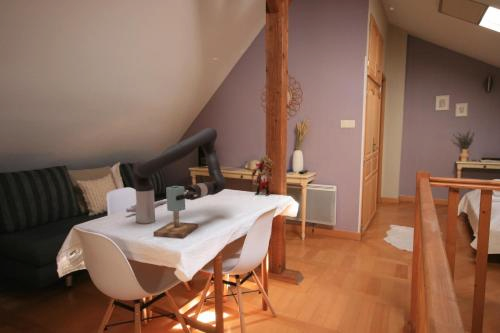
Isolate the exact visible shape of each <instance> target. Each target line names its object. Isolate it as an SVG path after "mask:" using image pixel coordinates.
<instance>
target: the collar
mask: <svg viewBox="0 0 500 333" xmlns="http://www.w3.org/2000/svg"><path fill="white" fill-rule="evenodd" d="M165 190H166V191H165V192H166V193H165V195H166V200H167V203H166V208H167V209H166V211H168V212H172V213H173V212H178V211H179V212H181V211H184V210H186V199H185V200H184V199H182V200H178V201H177V200H176V196H178V195H183V194H185V191H184V190H185V186H181V185H180V186H179V185H173V186H169V187H166V188H165Z"/></svg>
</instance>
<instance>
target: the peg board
mask: <svg viewBox="0 0 500 333" xmlns="http://www.w3.org/2000/svg"><path fill="white" fill-rule="evenodd" d="M172 213H173V221H170V222H168V223H166V224H165V225H163V226H161V227H160V228H158V229H156V230H154V231H153V237H159V236H160V238H171V237H172V239H173V238H174V239H185V238H186V237H187V236H189V235H190V234H192V233H193V232H194V231H196V230H197V229H199V223H196V222H180V211H178V212H173V211H172ZM188 234H189V235H188Z"/></svg>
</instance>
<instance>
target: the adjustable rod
mask: <svg viewBox="0 0 500 333" xmlns="http://www.w3.org/2000/svg"><path fill="white" fill-rule="evenodd" d="M154 203H155V208H157V206H161V205H164V204H167V199H166V200H160V201H154ZM135 205H136V204H134V205H130V207H128V208H126V209H125V212H126V213H135Z"/></svg>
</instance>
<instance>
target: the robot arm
mask: <svg viewBox="0 0 500 333" xmlns="http://www.w3.org/2000/svg"><path fill="white" fill-rule="evenodd" d="M217 137H218V132H217V130H216V129H215V128H213V127H205V128H204V129H202V130H200V131H199V132H197V133H195V134H193V135H192V136H190V137H188V138H185V139H184V140H182V141H179V142H177V143H175V144H173V145H171V146H169V147H167V148H166V149H165V150H163V152H161V154H158V155H157V156H155V157H152V158H150V159H138V160H137V161H135V162H134V164H133V167H132V175H133V176H132V177H133V184H134V186H135V187H134V188H135V203H136V204H134V205H135V212H134V214H135V215H134V216H135V223H138V224H150V223H151V224H152V223H154V222H155V221H156V207H155V203H154V202H155V189H154V187H155V186H154V183H153V182H152V176H154V175H155V174H157V173H159V171H162V170H163V169H165V168H166V167H169V166H171V165H173V164H176V163H177V162H179V161H182V160H183V159H186V158H188V157H189V156H190V155H191V154H193V152H195V151H196V149H198V148H199V147H201V148H202V151H203V153H204V157H205V160H206V164H207V166H206V167H207V170H208V171H207V172H208V176H209V177H210V178H212V179H214V180H213V181H211V182H209V181H208V182H207V181H205V182H202V183H194V184H190V185H187V187H186V188H185V189H184V191H185V194H183V195H178V196H176V200H177V201H178V200H182V199H184V200H185V201H186V200H190V201H193V200H194V201H195V200H198V199H201V198H204V197H206V196H213V195H217V194H219V193H221V192H222V191H223V190H226V188H227V181H226V178H225V177H224V175H223V173H222V169H221V165H220V161H219V158H218V157H217V154H216V152H215V143H216V141H217Z"/></svg>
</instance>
